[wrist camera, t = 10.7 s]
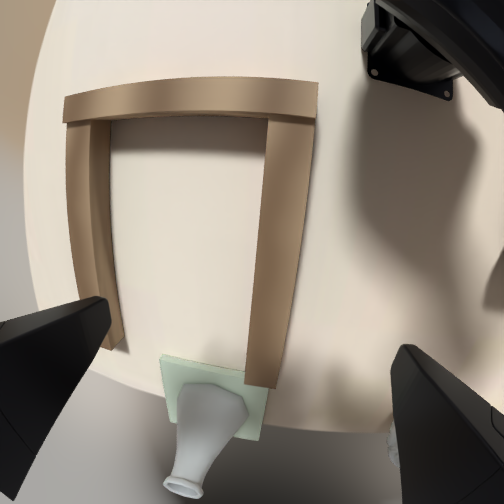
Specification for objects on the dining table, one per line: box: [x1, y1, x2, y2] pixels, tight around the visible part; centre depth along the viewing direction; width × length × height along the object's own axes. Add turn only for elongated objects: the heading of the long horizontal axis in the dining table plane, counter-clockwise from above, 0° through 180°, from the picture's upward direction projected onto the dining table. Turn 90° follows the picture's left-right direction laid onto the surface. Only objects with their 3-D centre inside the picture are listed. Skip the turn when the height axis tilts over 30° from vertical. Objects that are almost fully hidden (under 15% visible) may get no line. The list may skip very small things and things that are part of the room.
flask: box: [163, 384, 249, 499], centre depth 20 cm, size 7×7×10 cm
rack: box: [63, 77, 318, 389], centre depth 19 cm, size 17×21×3 cm
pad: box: [159, 354, 269, 441], centre depth 25 cm, size 10×10×1 cm
